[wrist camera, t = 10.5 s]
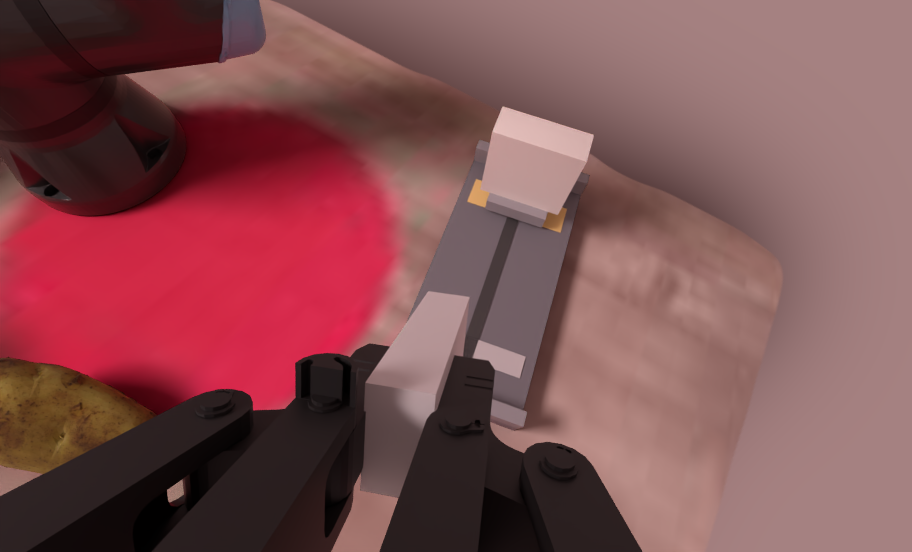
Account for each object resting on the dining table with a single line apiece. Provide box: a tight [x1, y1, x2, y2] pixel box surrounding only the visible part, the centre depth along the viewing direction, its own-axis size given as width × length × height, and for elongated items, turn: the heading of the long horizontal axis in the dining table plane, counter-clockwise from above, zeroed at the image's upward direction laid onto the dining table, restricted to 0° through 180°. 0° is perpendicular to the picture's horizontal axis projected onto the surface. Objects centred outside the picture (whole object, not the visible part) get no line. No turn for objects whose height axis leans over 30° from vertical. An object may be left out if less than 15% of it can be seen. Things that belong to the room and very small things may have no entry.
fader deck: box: [406, 140, 590, 430], centre depth 40 cm, size 26×12×4 cm, turn 161°
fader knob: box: [480, 107, 594, 228], centre depth 39 cm, size 5×8×10 cm, turn 71°
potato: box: [0, 357, 157, 474], centre depth 31 cm, size 8×13×8 cm, turn 56°
